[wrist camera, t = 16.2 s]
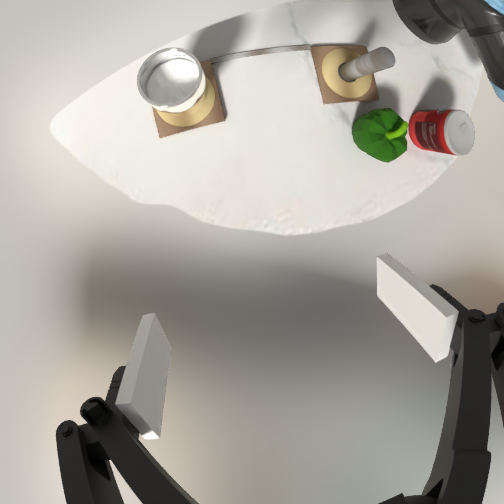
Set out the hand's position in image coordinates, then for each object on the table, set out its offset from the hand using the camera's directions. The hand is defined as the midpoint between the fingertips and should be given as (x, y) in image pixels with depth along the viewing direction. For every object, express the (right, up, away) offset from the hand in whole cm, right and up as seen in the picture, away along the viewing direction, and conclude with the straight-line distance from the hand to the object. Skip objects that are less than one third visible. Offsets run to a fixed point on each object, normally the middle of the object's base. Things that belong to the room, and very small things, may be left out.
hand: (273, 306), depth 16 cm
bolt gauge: (+1, +29, +23) cm, 37 cm away
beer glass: (-11, +26, +21) cm, 35 cm away
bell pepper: (+18, +23, +28) cm, 40 cm away
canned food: (+31, +26, +28) cm, 49 cm away
